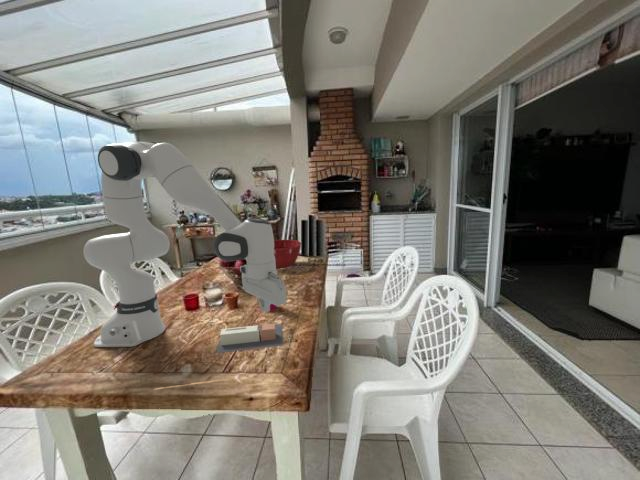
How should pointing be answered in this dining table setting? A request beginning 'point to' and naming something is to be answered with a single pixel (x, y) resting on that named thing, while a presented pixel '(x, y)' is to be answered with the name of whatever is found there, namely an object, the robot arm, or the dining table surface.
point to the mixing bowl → (286, 252)
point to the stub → (268, 332)
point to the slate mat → (254, 343)
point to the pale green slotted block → (240, 335)
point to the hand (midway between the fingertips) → (265, 310)
